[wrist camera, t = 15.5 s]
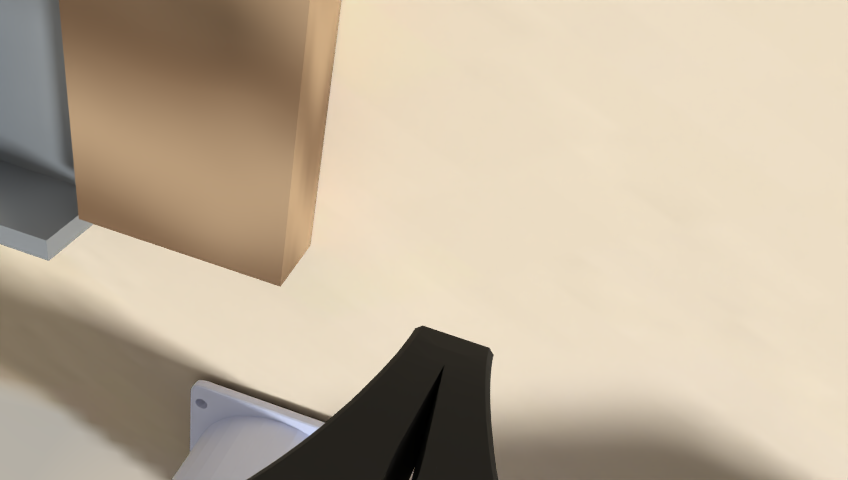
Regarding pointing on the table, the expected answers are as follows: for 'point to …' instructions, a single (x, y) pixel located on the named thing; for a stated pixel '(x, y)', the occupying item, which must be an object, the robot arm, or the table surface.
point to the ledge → (201, 123)
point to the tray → (35, 132)
